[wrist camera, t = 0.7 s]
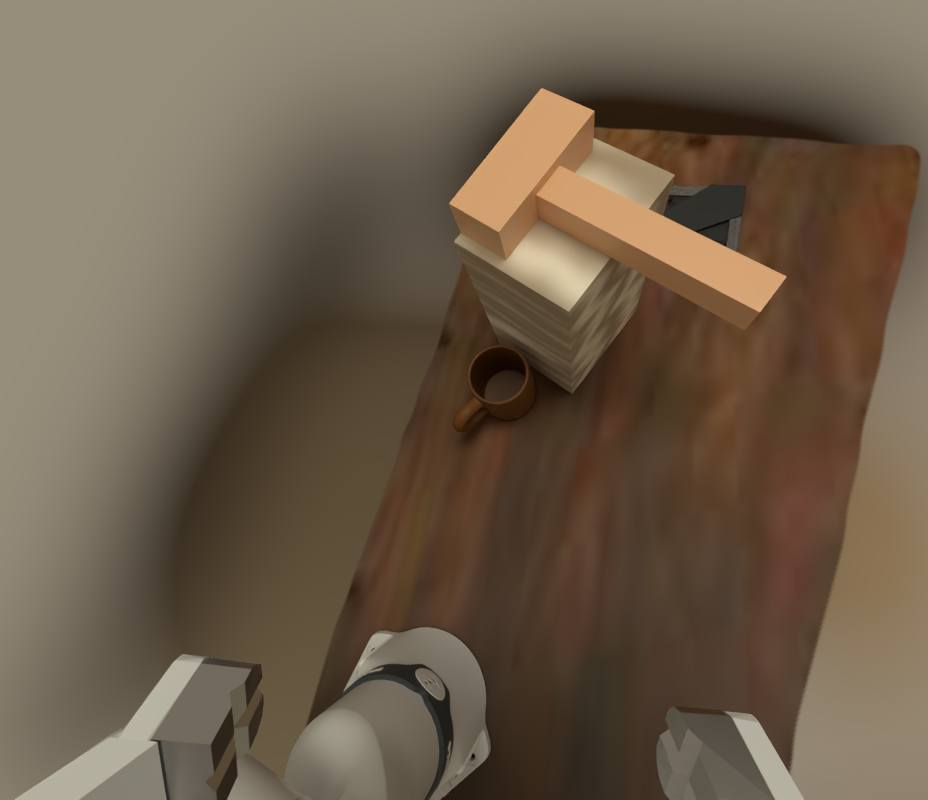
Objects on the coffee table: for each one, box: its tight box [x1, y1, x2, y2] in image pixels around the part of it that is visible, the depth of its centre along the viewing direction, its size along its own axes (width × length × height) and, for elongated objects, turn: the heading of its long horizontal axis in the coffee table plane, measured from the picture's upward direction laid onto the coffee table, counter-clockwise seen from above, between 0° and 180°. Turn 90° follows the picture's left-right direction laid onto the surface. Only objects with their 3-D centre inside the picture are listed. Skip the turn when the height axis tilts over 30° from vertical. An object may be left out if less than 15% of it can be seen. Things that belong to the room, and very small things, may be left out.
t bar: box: [449, 88, 786, 330], centre depth 35 cm, size 12×23×4 cm, turn 52°
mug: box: [453, 345, 536, 432], centre depth 58 cm, size 12×8×9 cm, turn 137°
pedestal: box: [454, 138, 675, 394], centre depth 51 cm, size 14×12×26 cm
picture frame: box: [663, 185, 746, 252], centre depth 63 cm, size 13×2×18 cm
